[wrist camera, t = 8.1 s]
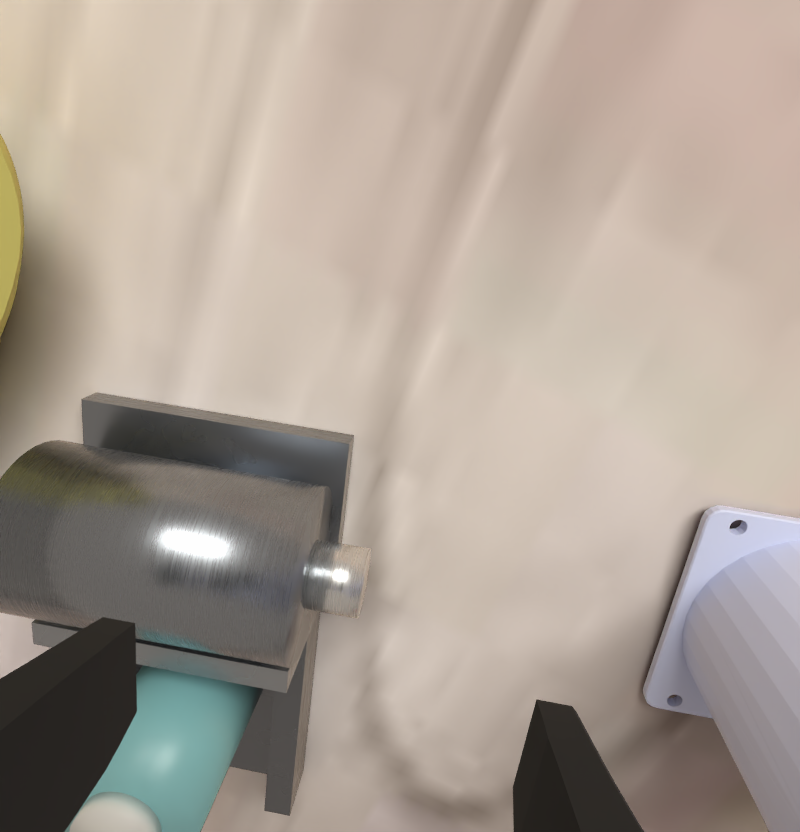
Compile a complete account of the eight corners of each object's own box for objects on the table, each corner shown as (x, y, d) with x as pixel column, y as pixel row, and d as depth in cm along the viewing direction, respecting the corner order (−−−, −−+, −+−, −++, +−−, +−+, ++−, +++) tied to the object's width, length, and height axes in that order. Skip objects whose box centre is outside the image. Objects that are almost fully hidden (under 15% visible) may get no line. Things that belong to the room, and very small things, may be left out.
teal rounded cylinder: (276, 648, 22) (200, 818, 16) (248, 731, 23) (168, 916, 17) (166, 608, 22) (45, 762, 16) (145, 693, 23) (27, 866, 17)
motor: (392, 441, 19) (361, 532, 14) (345, 778, 24) (308, 948, 18) (96, 392, 20) (-53, 459, 14) (109, 730, 25) (3, 880, 19)
